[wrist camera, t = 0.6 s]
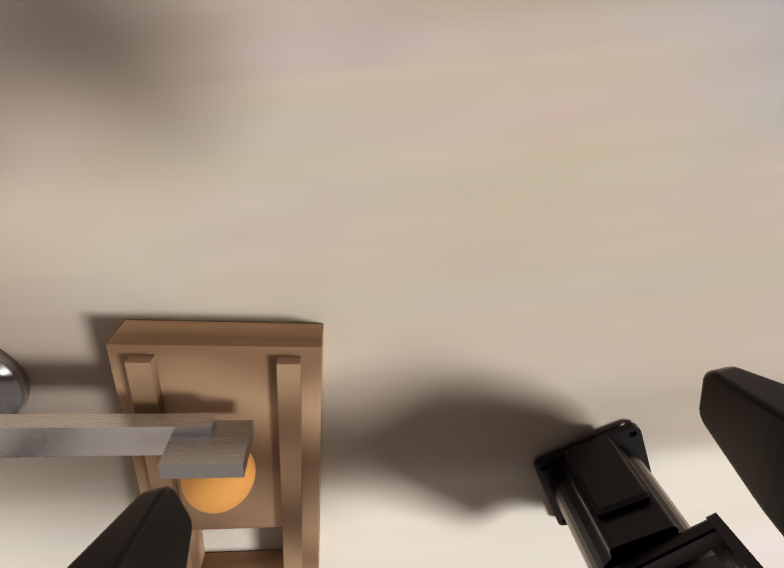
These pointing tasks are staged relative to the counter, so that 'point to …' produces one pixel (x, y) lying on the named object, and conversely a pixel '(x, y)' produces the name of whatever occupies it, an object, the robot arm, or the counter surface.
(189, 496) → the ball
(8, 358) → the pivot post
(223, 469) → the lever
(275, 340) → the lane
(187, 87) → the counter surface
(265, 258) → the counter surface
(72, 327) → the counter surface
